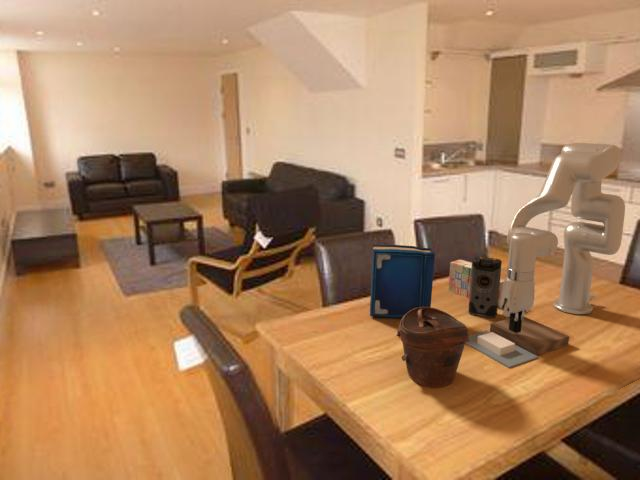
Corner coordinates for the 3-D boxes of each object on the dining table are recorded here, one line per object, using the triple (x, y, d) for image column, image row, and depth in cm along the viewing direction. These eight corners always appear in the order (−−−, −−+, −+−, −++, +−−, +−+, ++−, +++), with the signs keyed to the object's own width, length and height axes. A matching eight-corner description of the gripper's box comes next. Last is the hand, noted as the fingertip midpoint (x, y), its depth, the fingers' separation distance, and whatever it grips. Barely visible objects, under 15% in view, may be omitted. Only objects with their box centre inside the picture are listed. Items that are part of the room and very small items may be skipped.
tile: (477, 336, 150) (477, 343, 151) (500, 348, 142) (499, 355, 143) (492, 331, 153) (491, 338, 153) (515, 343, 145) (514, 351, 146)
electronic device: (467, 314, 173) (471, 260, 168) (470, 308, 178) (474, 255, 173) (495, 319, 169) (499, 264, 163) (497, 313, 174) (502, 259, 168)
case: (413, 350, 147) (415, 295, 142) (478, 372, 135) (482, 312, 130) (381, 376, 134) (382, 316, 129) (449, 403, 122) (453, 338, 117)
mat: (486, 331, 160) (486, 330, 159) (538, 357, 142) (538, 356, 142) (458, 339, 154) (458, 338, 154) (508, 368, 137) (509, 366, 137)
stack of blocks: (504, 304, 182) (507, 272, 178) (493, 308, 178) (496, 276, 175) (458, 287, 199) (460, 258, 196) (448, 291, 195) (449, 261, 192)
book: (430, 312, 175) (434, 244, 169) (433, 320, 168) (436, 250, 162) (369, 310, 177) (371, 243, 171) (369, 318, 170) (371, 249, 164)
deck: (520, 323, 165) (520, 315, 164) (568, 345, 150) (569, 336, 149) (489, 332, 159) (490, 323, 158) (536, 356, 144) (537, 346, 143)
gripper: (527, 267, 152) (521, 321, 157) (492, 274, 145) (487, 331, 150) (548, 274, 146) (541, 330, 151) (512, 282, 139) (506, 341, 144)
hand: (514, 330), depth 150 cm, fingers closed
